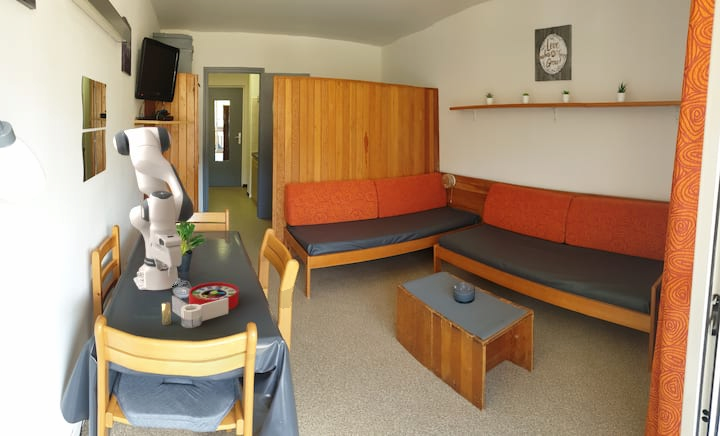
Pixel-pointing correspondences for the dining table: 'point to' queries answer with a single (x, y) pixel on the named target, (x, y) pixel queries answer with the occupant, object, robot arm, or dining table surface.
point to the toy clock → (214, 294)
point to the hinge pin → (166, 313)
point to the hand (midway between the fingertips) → (164, 272)
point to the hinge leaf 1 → (176, 308)
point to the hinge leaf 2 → (205, 310)
